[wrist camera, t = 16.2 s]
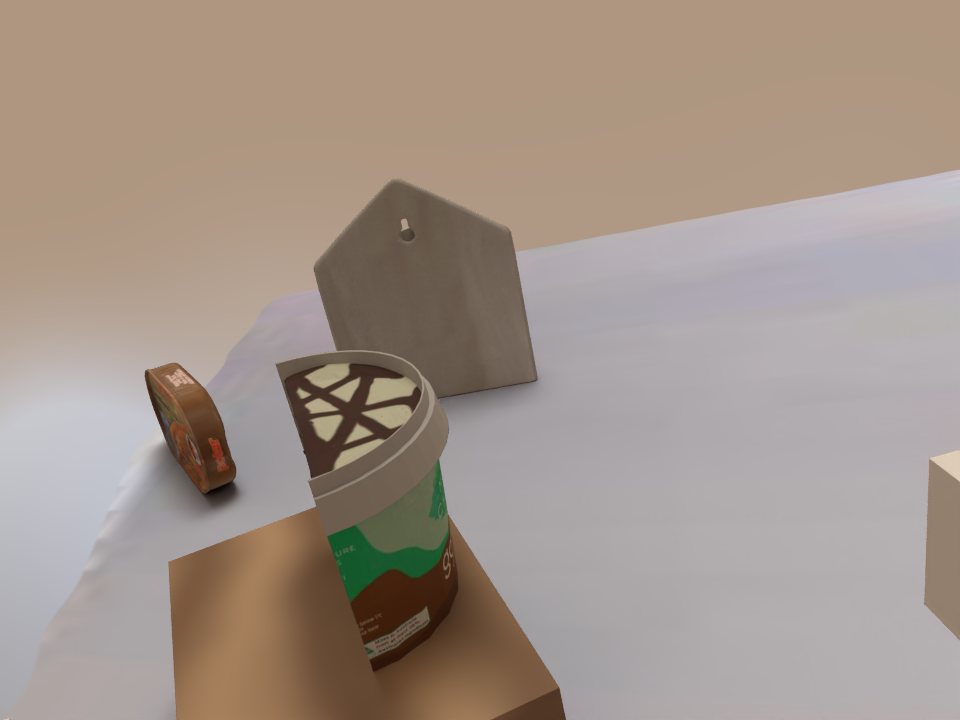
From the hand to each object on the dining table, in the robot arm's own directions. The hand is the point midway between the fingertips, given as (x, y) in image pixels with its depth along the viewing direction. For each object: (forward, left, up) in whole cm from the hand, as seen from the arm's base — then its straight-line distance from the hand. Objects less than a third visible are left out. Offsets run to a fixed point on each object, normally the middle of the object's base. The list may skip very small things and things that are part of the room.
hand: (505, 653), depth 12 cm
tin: (+8, -56, -24) cm, 61 cm away
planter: (-14, -57, -24) cm, 63 cm away
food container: (-2, -22, -16) cm, 27 cm away
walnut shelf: (+2, -22, -24) cm, 32 cm away
